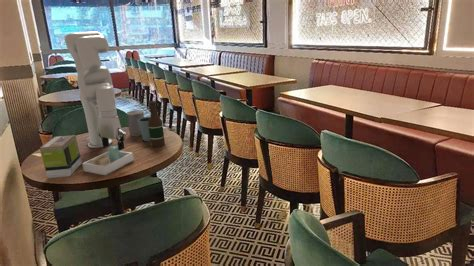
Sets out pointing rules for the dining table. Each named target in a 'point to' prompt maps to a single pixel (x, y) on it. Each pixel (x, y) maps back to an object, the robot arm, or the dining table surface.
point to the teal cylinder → (113, 153)
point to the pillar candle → (134, 122)
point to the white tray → (105, 170)
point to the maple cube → (101, 160)
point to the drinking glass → (144, 128)
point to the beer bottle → (155, 127)
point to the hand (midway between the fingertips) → (113, 148)
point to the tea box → (61, 156)
